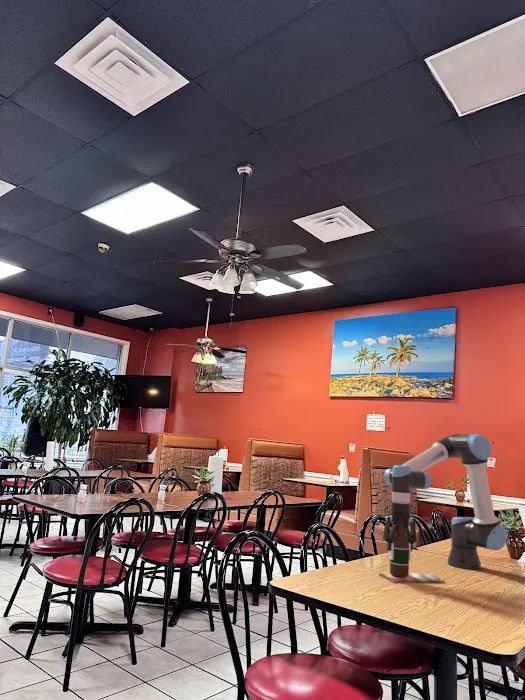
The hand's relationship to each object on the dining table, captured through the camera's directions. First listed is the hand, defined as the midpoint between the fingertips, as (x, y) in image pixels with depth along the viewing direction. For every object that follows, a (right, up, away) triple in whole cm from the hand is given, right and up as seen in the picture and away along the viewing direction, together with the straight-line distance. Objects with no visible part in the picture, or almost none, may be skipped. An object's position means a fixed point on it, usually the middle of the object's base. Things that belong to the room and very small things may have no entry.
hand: (399, 559), depth 212 cm
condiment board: (+5, -8, 0) cm, 10 cm away
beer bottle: (0, -6, -1) cm, 6 cm away
